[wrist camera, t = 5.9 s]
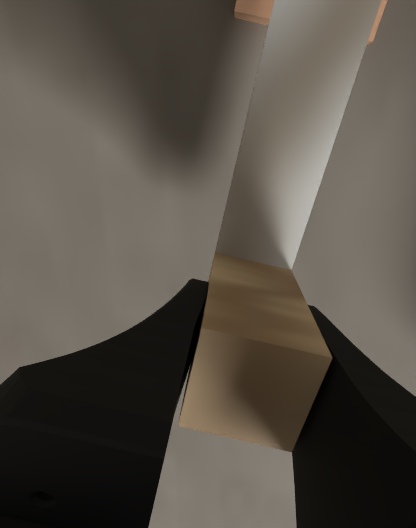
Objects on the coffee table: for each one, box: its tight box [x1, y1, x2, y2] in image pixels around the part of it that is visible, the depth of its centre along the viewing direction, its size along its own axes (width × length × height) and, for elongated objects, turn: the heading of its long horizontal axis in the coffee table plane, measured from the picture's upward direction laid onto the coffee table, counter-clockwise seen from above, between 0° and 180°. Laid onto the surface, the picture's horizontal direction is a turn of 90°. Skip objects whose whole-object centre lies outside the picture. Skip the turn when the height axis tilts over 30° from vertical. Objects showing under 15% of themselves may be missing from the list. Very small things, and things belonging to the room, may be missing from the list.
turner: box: [178, 0, 381, 452], centre depth 9 cm, size 3×13×6 cm, turn 168°
